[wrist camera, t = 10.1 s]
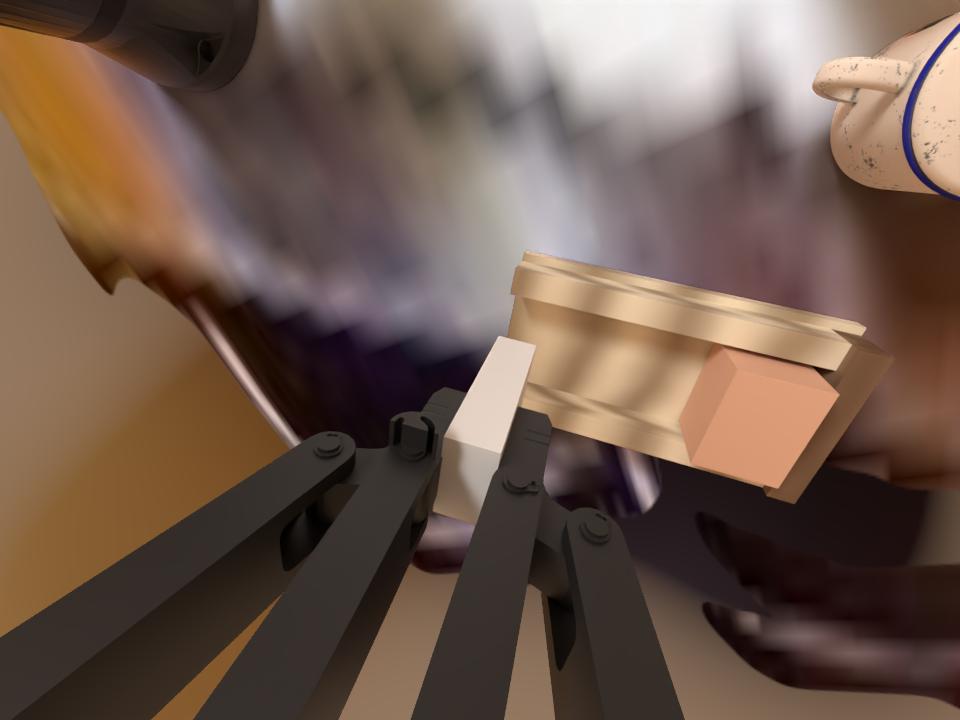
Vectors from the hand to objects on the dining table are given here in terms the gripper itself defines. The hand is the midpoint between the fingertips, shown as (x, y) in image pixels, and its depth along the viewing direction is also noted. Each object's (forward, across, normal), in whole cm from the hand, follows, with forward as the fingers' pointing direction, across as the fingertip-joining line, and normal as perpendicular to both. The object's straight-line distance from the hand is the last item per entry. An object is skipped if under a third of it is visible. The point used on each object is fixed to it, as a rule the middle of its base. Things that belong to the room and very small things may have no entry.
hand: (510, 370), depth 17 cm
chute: (+20, +10, -7) cm, 24 cm away
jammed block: (+19, +16, -7) cm, 26 cm away
